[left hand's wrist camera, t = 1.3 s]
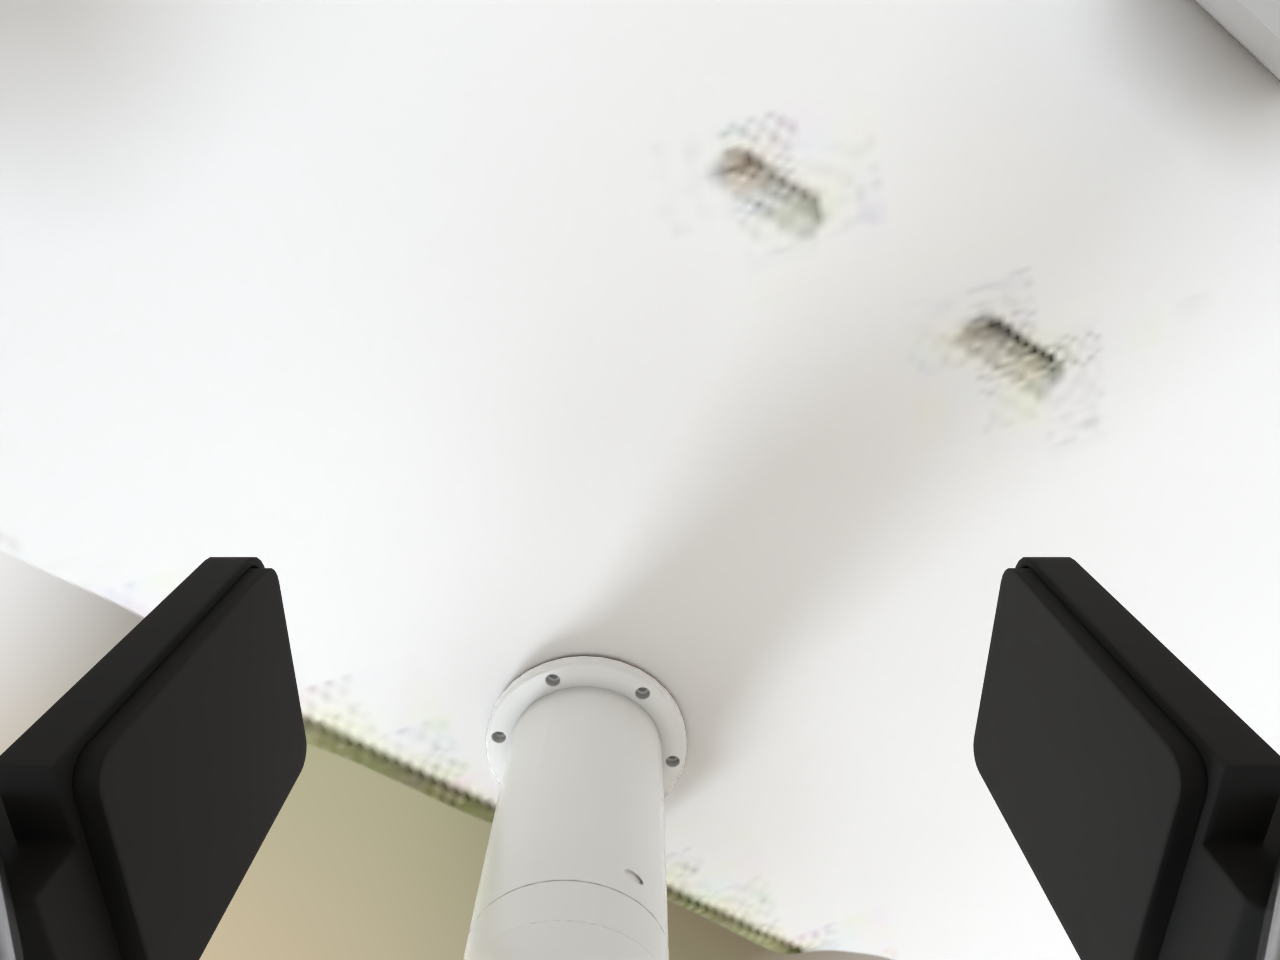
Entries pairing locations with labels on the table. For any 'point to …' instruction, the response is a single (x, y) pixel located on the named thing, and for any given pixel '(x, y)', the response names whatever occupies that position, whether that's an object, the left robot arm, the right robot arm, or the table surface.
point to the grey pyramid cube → (1251, 26)
